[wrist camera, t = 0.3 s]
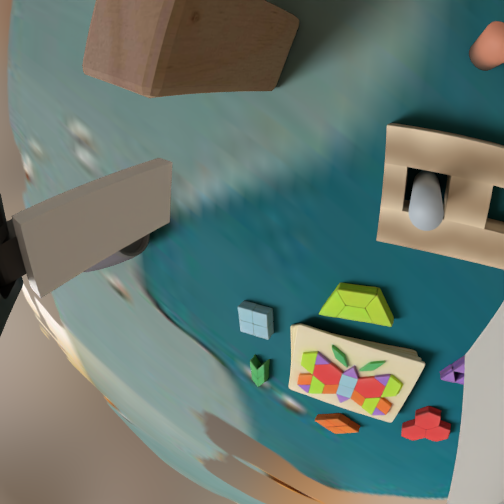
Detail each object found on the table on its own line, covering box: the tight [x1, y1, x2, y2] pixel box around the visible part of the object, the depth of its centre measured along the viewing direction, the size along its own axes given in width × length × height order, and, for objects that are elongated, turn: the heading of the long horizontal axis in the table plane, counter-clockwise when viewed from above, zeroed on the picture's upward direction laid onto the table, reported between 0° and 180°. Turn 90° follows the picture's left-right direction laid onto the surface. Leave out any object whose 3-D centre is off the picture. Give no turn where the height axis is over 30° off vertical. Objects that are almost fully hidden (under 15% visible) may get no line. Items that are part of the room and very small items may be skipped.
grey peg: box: [409, 170, 444, 231], centre depth 27 cm, size 3×3×10 cm
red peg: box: [469, 22, 504, 71], centre depth 17 cm, size 3×3×10 cm
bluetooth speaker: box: [84, 234, 149, 272], centre depth 58 cm, size 23×9×10 cm, turn 116°
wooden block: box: [82, 0, 299, 98], centre depth 25 cm, size 10×10×20 cm
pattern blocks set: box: [238, 283, 465, 441], centre depth 46 cm, size 38×34×3 cm
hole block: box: [376, 123, 504, 269], centre depth 27 cm, size 12×18×4 cm, turn 93°
